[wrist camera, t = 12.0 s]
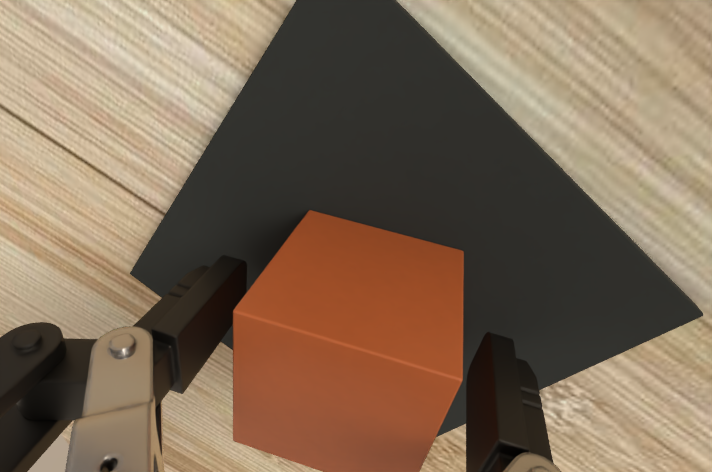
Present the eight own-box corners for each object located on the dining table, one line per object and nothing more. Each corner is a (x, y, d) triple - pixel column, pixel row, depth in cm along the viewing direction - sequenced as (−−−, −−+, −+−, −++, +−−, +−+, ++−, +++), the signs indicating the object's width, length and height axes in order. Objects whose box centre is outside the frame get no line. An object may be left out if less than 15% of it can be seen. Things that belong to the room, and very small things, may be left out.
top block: (295, 321, 15) (232, 441, 11) (308, 208, 13) (231, 310, 8) (423, 359, 15) (406, 501, 11) (464, 250, 12) (464, 380, 8)
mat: (136, 268, 17) (128, 273, 16) (338, -59, 9) (333, -61, 9) (384, 453, 19) (382, 461, 19) (698, 306, 12) (704, 315, 11)
